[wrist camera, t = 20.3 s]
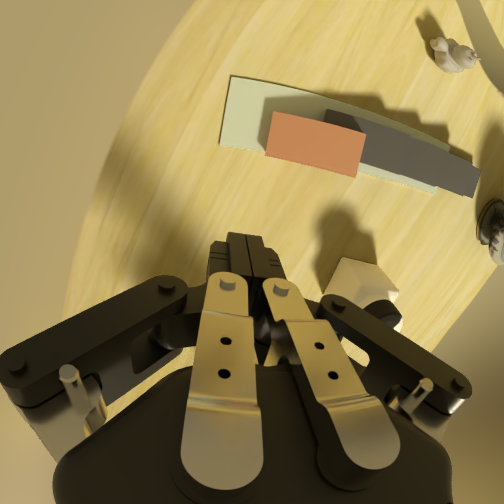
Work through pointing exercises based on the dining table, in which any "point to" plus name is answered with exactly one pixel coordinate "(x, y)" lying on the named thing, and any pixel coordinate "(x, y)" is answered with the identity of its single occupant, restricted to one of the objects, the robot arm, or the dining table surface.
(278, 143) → the domino
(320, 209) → the dining table surface
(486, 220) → the apothecary jar
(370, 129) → the domino
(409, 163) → the domino
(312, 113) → the mat
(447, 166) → the domino
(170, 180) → the dining table surface
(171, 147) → the dining table surface
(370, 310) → the medicine bottle
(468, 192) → the domino
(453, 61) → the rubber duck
